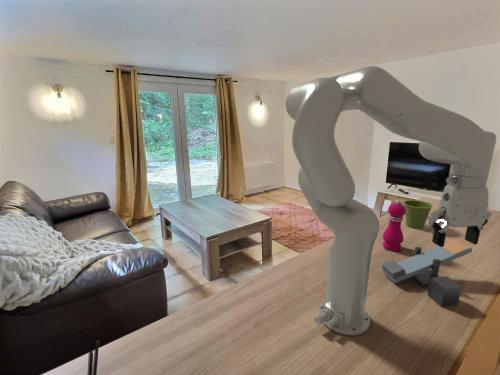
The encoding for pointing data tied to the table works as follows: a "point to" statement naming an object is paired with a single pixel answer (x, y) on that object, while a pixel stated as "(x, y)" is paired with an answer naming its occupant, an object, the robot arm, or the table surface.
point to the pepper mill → (394, 227)
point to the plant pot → (416, 213)
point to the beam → (424, 260)
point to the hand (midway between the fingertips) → (454, 243)
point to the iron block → (444, 291)
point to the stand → (425, 276)
